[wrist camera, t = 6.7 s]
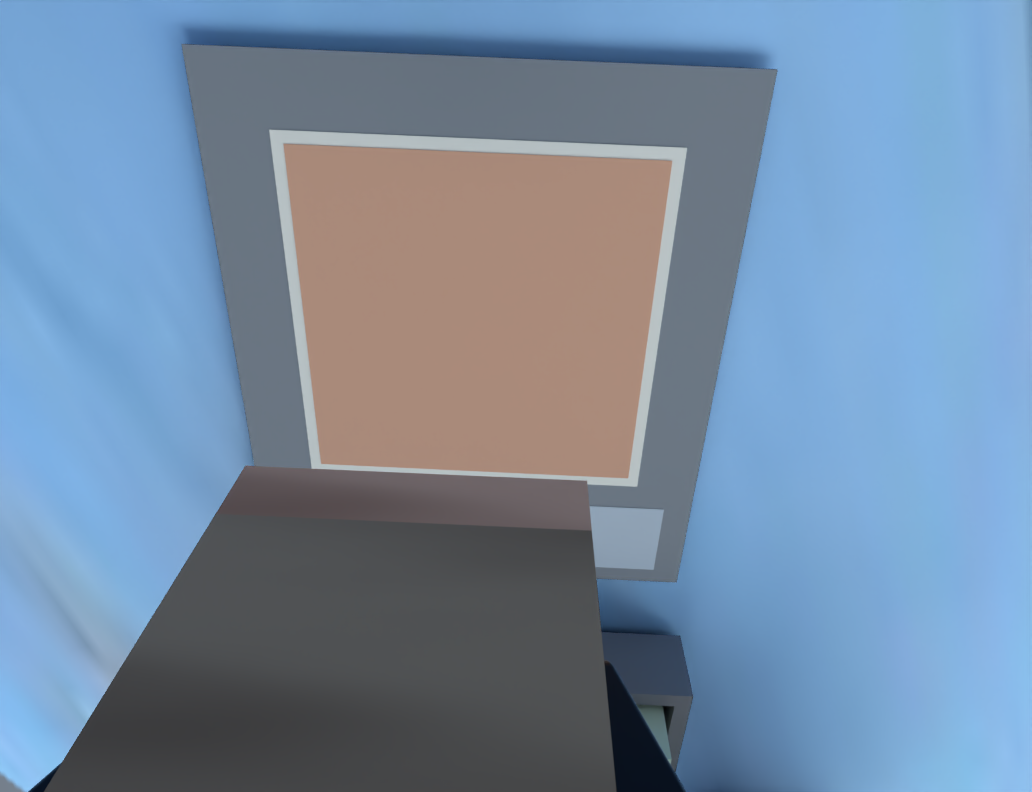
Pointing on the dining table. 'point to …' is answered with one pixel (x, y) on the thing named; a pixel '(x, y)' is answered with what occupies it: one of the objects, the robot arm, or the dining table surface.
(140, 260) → the dining table surface
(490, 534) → the block
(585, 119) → the picture mat
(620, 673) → the button housing
